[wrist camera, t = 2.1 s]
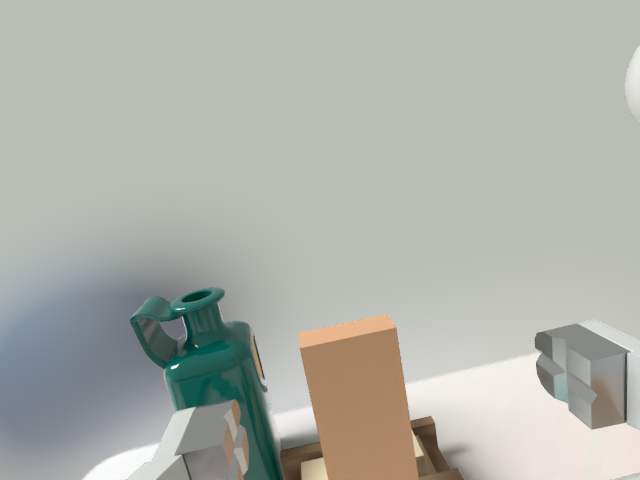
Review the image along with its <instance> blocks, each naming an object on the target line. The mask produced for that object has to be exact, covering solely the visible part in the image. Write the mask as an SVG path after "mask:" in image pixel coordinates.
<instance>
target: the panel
mask: <svg viewBox="0 0 640 480" xmlns="http://www.w3.org/2000/svg"><path fill="white" fill-rule="evenodd" d="M299 343H300V351H301V356H302V361H303V365H304V370H305V374H306V378H307V384H308V388H309V393H310V397H311V402H312V407H313V411H314V416H315V421H316V425H317V430H318V434H319V439H320V444H321V448H322V453H323V458H324V462H325V467H326V471H327V476H328V480H419V477H418V471H417V464H416V457H415V450H414V444H413V437H412V430H411V424H410V417H409V410H408V403H407V397H406V390H405V383H404V377H403V370H402V363H401V357H400V350H399V343H398V336H397V330H396V326H395V325H394V324H393V322H392V321H391V319H390V318H389V316H388V315H387V314H386V315H381V316H376V317H371V318H367V319H362V320H358V321H353V322H348V323H343V324H339V325H334V326H329V327H325V328H320V329H316V330H311V331H306V332H302V333H299Z"/></svg>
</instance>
